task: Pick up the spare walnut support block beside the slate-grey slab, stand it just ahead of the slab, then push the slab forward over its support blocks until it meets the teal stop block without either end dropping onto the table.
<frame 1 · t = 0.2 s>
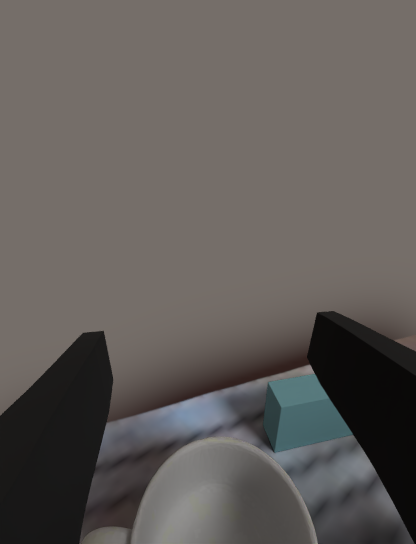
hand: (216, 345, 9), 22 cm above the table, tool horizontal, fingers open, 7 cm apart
stop block: (319, 427, 29), on the table
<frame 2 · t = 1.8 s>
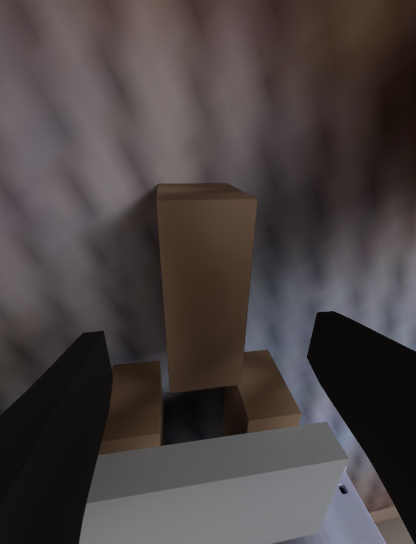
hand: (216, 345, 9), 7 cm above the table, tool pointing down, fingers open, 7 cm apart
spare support: (193, 263, 15), on the table
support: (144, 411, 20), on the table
slab: (205, 481, 16), point 5 cm above the table, touching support
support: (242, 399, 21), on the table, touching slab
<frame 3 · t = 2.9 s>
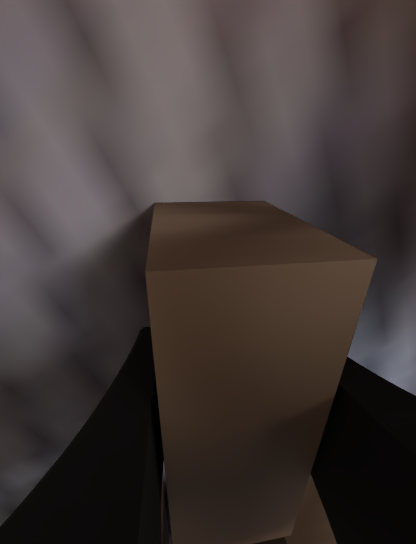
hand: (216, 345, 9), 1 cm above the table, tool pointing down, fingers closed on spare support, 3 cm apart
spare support: (209, 319, 10), on the table, touching gripper
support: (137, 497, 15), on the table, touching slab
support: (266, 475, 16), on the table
when the fingers open (2 cm above the table, at t = 7.8 s): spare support stays where it is, on the table.
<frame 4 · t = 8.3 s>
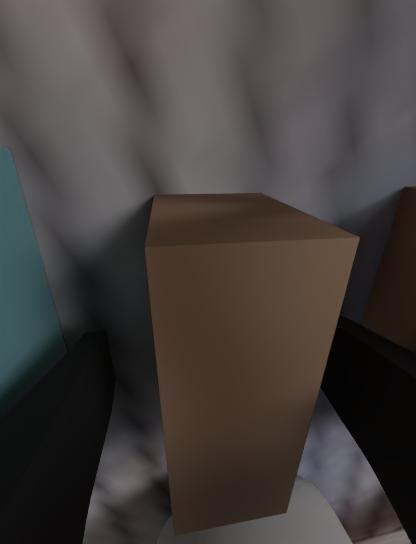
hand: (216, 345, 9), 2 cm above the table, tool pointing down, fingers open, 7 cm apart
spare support: (207, 309, 10), on the table
stop block: (16, 332, 9), on the table
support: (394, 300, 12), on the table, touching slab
teacup: (228, 500, 17), on the table
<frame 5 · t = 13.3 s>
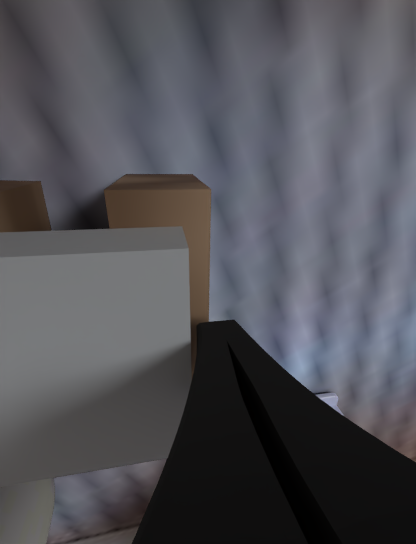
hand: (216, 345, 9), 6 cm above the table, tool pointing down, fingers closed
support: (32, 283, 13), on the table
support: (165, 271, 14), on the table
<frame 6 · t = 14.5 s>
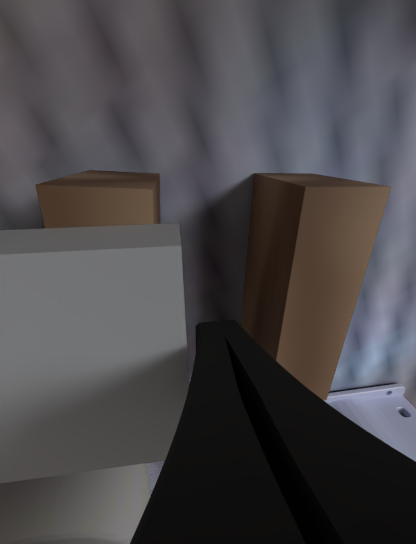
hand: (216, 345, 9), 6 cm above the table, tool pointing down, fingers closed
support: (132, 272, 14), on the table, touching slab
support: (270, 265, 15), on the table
teacup: (78, 457, 20), on the table
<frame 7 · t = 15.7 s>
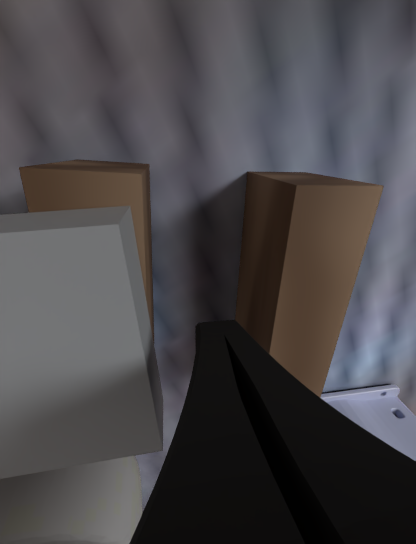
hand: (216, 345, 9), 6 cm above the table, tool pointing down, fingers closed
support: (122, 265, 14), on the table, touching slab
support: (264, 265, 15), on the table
teacup: (70, 458, 19), on the table
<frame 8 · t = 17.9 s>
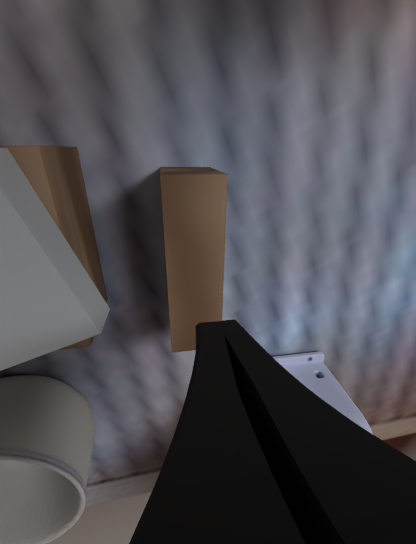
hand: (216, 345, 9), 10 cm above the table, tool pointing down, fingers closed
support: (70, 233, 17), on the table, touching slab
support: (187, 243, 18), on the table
teacup: (38, 412, 23), on the table
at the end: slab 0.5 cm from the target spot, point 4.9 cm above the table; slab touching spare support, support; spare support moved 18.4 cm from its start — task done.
